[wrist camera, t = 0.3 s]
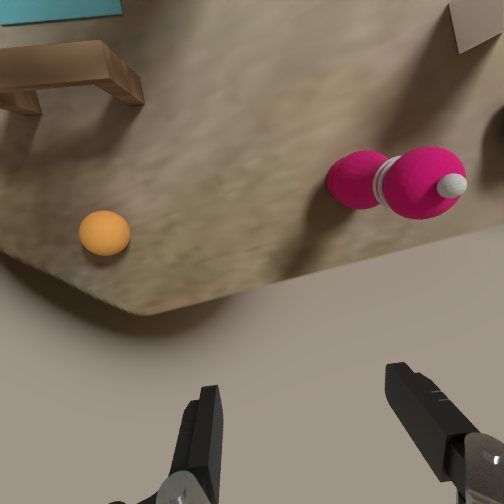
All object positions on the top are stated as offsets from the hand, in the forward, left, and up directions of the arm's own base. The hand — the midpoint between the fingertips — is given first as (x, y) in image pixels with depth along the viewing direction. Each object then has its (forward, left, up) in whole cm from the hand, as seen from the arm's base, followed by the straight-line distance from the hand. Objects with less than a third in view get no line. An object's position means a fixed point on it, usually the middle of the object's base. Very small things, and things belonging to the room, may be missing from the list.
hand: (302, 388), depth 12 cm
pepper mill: (-8, +14, -29) cm, 33 cm away
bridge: (-21, -20, -28) cm, 41 cm away
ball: (-4, -20, -25) cm, 33 cm away
